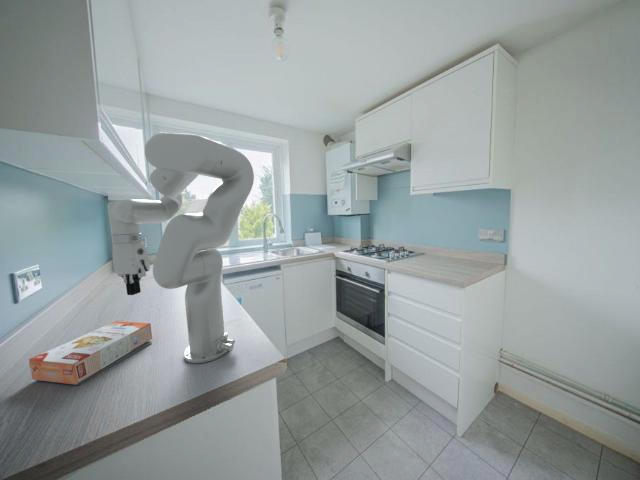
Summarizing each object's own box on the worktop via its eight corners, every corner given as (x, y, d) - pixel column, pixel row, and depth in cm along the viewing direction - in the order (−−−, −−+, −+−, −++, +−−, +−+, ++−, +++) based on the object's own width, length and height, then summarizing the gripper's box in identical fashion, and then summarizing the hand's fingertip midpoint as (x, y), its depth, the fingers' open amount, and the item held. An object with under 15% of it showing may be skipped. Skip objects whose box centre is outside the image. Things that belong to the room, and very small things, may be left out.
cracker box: (151, 321, 74) (72, 363, 53) (153, 338, 74) (76, 386, 54) (115, 319, 76) (26, 359, 56) (117, 336, 77) (30, 381, 56)
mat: (151, 343, 72) (151, 342, 72) (79, 384, 55) (79, 383, 55) (115, 338, 76) (115, 337, 76) (38, 374, 59) (37, 373, 59)
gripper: (156, 238, 76) (162, 291, 78) (122, 238, 79) (128, 289, 81) (133, 240, 68) (140, 299, 70) (97, 240, 72) (104, 296, 74)
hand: (134, 293), depth 76 cm, fingers closed
